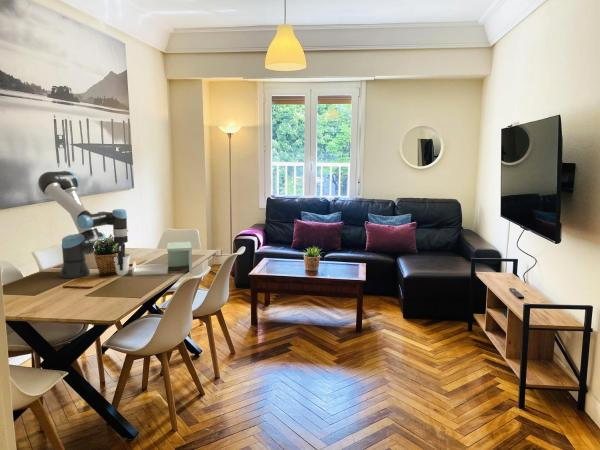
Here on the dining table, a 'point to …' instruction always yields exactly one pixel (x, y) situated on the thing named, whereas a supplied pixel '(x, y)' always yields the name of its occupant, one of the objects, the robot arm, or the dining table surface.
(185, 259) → the pale green block
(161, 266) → the tray
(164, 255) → the dining table surface
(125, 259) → the cup
